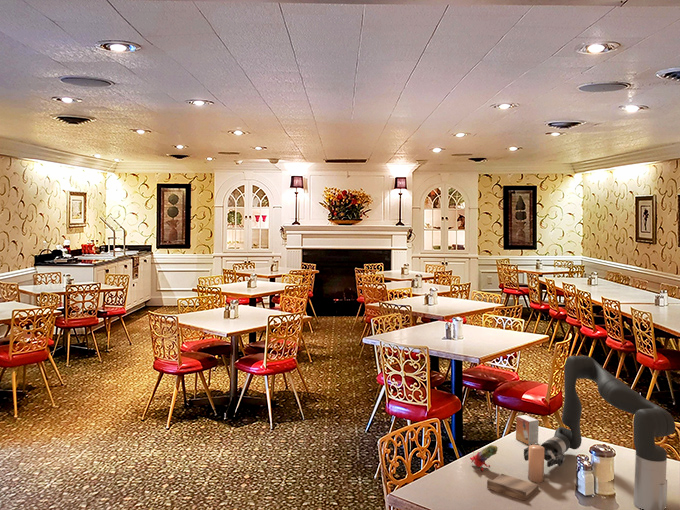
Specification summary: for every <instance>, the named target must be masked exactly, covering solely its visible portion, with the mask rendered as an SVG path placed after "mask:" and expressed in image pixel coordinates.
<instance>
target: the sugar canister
mask: <svg viewBox="0 0 680 510" xmlns="http://www.w3.org/2000/svg"><path fill="white" fill-rule="evenodd" d="M528 447H529V460H528V464H527V465H528V467H527V469H528V470H527V472H528V473H527V479H528V480H529V482H530V481H531V482H532V483H533V482H534V483H543V482H544V479H545V478H544V477H545V476H544V475H545V460H544V447H542V446H541V444H540V445H538V444H532V445H528Z"/></svg>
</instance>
